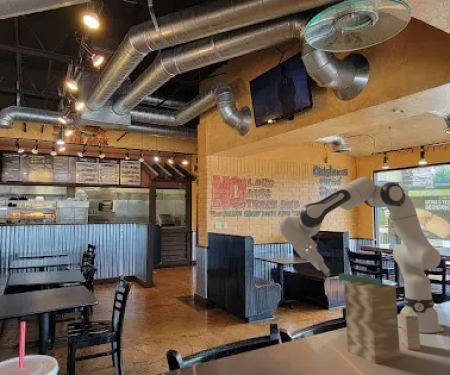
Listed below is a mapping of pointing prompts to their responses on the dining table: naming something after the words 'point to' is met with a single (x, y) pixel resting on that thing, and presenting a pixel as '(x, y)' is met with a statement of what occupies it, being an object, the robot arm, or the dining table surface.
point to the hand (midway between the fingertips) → (328, 273)
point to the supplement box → (410, 330)
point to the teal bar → (359, 279)
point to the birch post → (372, 321)
